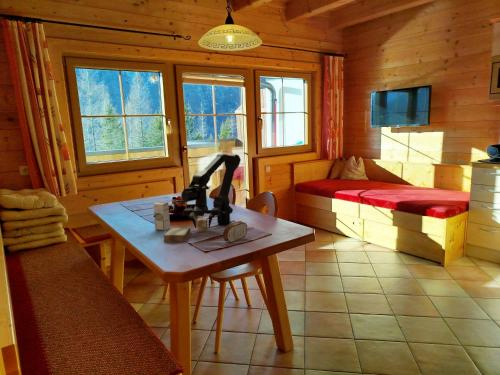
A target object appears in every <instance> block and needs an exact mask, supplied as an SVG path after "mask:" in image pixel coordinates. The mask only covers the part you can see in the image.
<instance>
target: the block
mask: <svg viewBox="0 0 500 375" xmlns="http://www.w3.org/2000/svg"><path fill="white" fill-rule="evenodd" d="M196 224H197V228H196V229H197V232H198V233H199V232H200V233H204V232H207V231H208V229H209V227H208V217H199V218H197V219H196Z"/></svg>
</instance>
